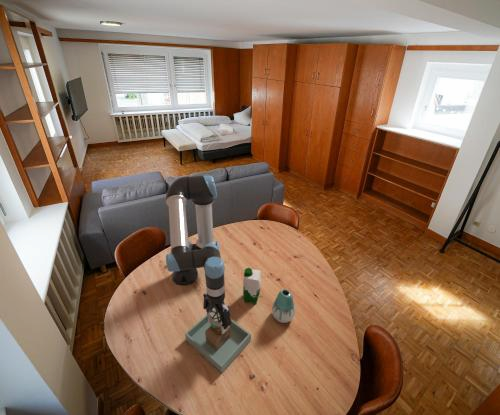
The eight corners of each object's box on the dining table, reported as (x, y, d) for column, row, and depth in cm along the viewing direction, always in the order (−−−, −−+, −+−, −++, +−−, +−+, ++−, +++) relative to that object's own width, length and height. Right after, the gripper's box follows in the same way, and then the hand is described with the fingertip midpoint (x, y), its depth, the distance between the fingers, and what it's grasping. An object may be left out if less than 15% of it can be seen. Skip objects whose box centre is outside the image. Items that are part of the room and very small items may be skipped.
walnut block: (219, 328, 131) (219, 318, 127) (230, 337, 127) (230, 326, 123) (206, 342, 124) (205, 331, 120) (216, 351, 121) (216, 340, 117)
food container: (211, 313, 127) (210, 299, 122) (224, 314, 127) (223, 300, 122) (207, 337, 117) (205, 323, 111) (221, 338, 117) (220, 323, 111)
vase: (295, 311, 142) (299, 286, 133) (291, 329, 132) (295, 304, 123) (274, 304, 145) (277, 280, 136) (268, 322, 135) (271, 297, 126)
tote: (185, 340, 125) (184, 333, 123) (215, 313, 139) (215, 307, 136) (221, 373, 113) (221, 366, 110) (250, 340, 126) (251, 334, 124)
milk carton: (245, 290, 153) (245, 264, 143) (260, 293, 151) (262, 266, 142) (241, 302, 145) (242, 275, 136) (258, 305, 144) (259, 278, 134)
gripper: (192, 283, 112) (196, 319, 124) (227, 309, 101) (228, 346, 113) (205, 274, 117) (208, 309, 129) (240, 297, 106) (240, 333, 118)
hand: (217, 326), depth 121 cm, fingers closed on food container, 8 cm apart
